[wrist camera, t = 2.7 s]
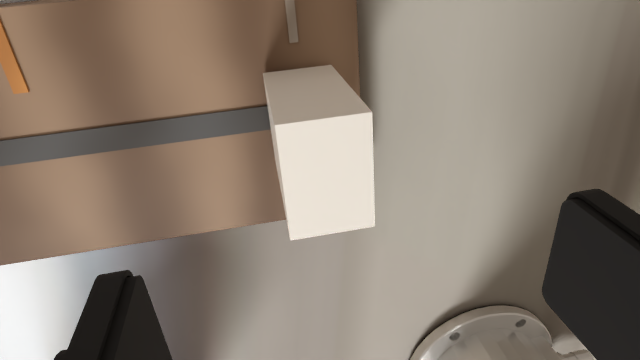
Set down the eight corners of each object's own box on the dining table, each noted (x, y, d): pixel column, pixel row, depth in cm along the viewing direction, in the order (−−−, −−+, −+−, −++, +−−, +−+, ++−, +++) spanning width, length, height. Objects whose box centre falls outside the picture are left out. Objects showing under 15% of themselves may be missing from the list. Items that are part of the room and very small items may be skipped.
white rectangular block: (331, 64, 20) (372, 111, 14) (336, 152, 22) (375, 226, 16) (262, 72, 20) (274, 125, 14) (275, 161, 22) (290, 240, 16)
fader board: (340, -29, 22) (356, -28, 19) (351, 182, 27) (364, 208, 24) (-149, 18, 19) (-213, 28, 16) (-25, 240, 25) (-57, 275, 22)
